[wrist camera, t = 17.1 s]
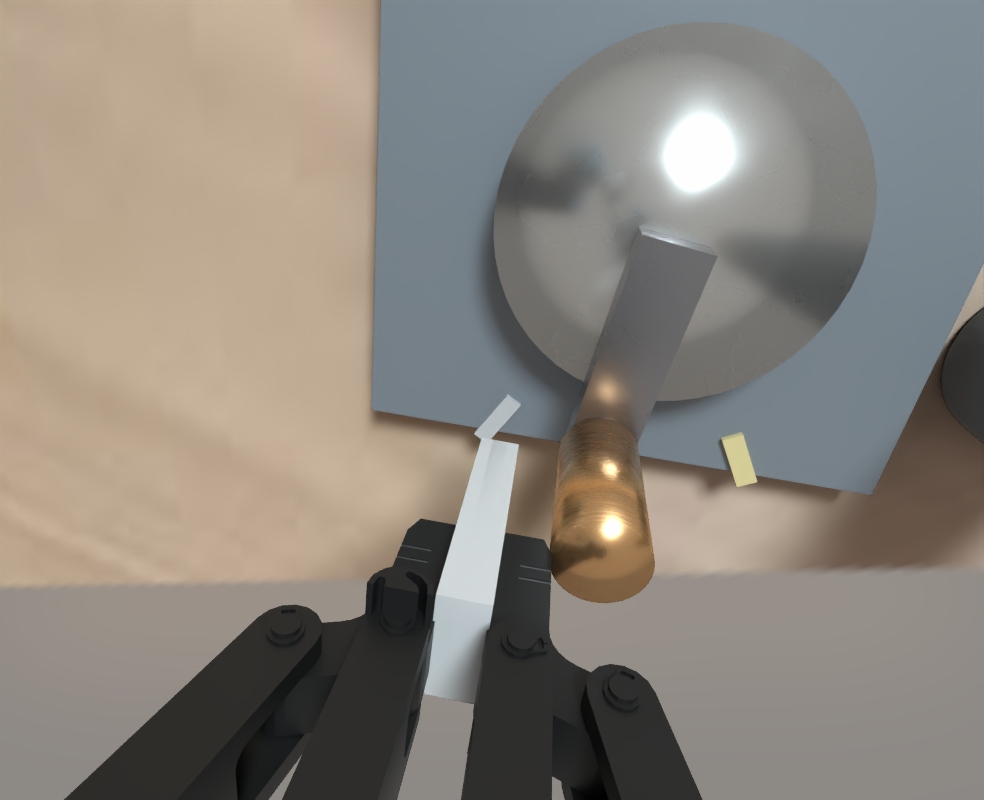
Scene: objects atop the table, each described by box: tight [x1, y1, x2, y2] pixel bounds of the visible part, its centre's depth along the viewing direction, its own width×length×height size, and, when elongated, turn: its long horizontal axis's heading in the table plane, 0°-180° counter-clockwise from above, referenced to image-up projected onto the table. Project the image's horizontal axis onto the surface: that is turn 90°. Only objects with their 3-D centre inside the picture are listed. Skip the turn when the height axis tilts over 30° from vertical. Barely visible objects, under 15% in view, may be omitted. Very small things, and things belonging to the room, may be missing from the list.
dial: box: [493, 22, 877, 603], centre depth 15 cm, size 10×12×8 cm
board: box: [372, 0, 984, 495], centre depth 19 cm, size 18×16×2 cm
